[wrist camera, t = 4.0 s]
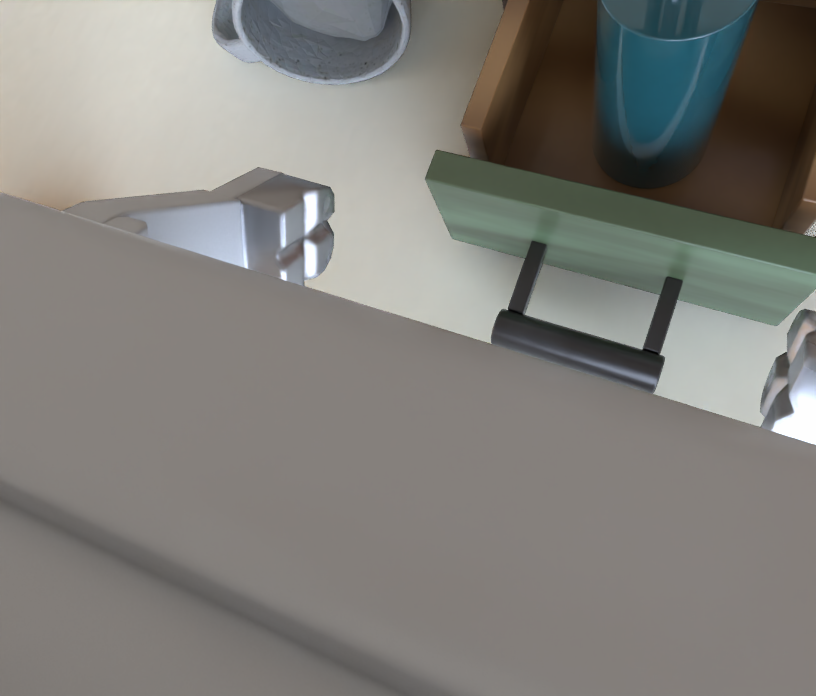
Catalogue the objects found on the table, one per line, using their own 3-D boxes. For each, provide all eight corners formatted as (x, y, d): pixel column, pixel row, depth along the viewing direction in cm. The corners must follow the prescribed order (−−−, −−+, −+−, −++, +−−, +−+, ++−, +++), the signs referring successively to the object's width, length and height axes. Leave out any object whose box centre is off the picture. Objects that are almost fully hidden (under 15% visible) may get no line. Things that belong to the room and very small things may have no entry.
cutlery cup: (722, 99, 27) (848, -262, 15) (690, 201, 27) (791, -85, 14) (610, 79, 29) (636, -270, 16) (577, 175, 28) (576, -108, 15)
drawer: (745, 434, 25) (789, 413, 20) (417, 330, 29) (381, 289, 24) (868, 17, 28) (938, -101, 22) (551, -29, 31) (545, -139, 26)
